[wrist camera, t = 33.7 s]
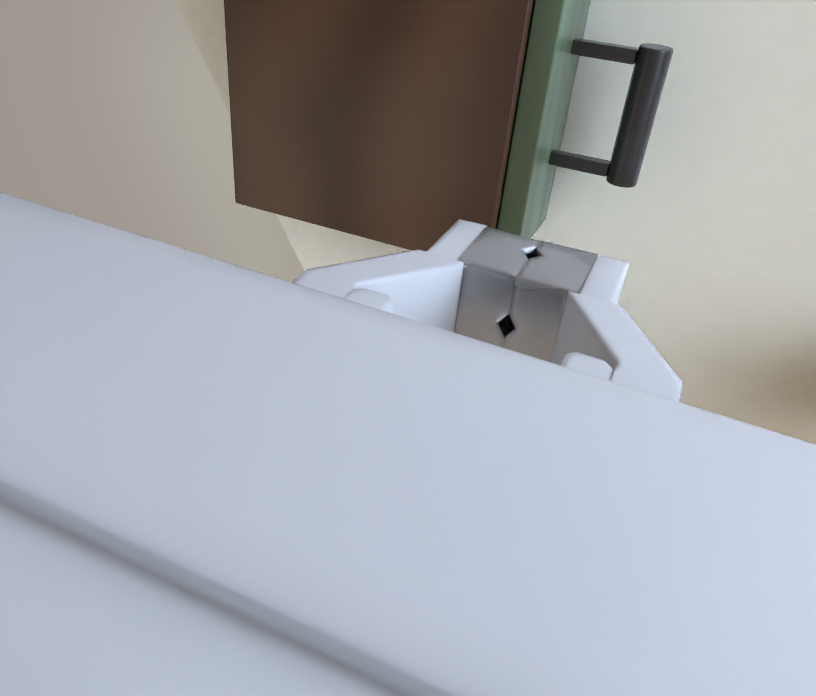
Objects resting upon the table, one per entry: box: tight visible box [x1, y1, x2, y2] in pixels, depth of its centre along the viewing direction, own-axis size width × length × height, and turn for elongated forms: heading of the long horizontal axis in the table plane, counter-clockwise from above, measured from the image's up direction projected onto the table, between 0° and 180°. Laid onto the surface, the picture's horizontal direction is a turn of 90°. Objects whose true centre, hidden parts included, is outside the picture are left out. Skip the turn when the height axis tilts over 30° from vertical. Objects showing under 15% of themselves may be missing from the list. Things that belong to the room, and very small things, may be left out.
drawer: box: [497, 0, 673, 239], centre depth 33 cm, size 18×13×6 cm
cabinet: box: [224, 0, 533, 251], centre depth 34 cm, size 14×14×7 cm
